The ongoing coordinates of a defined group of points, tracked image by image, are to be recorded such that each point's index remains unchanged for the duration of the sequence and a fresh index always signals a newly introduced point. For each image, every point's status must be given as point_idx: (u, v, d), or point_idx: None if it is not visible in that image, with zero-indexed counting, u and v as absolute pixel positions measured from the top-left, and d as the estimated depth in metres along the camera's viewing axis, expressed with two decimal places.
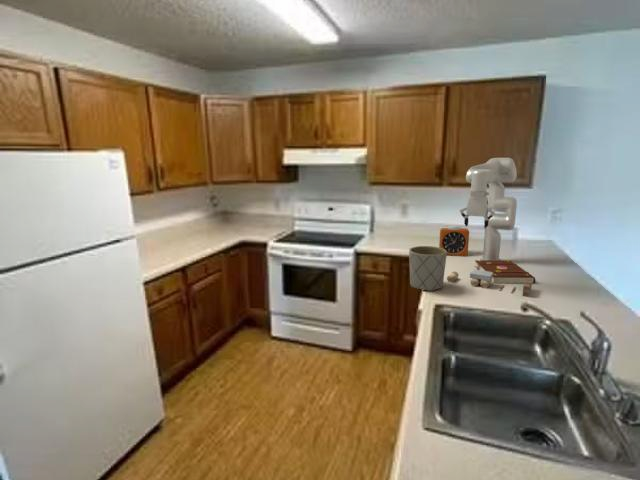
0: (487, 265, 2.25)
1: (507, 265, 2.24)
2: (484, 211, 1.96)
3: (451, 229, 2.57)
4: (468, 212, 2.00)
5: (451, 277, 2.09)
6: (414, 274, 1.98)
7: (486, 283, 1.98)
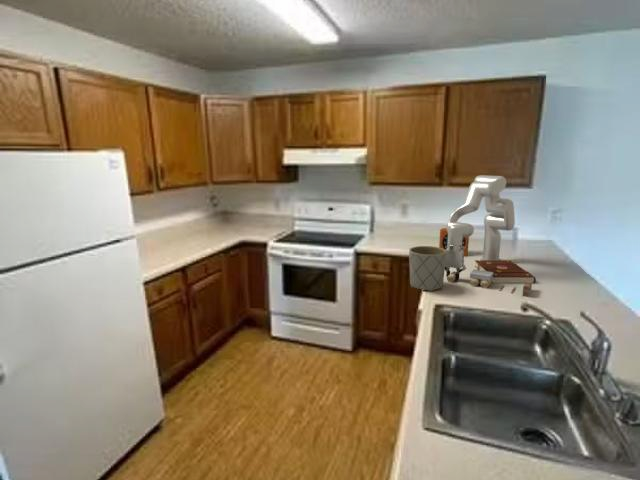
0: (487, 265, 2.25)
1: (507, 265, 2.24)
2: (460, 264, 2.06)
3: None
4: None
5: (451, 277, 2.09)
6: (414, 274, 1.98)
7: (486, 283, 1.98)
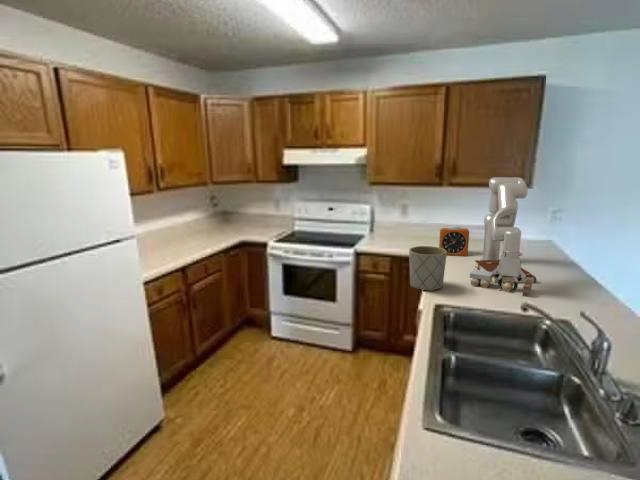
0: (487, 265, 2.25)
1: None
2: (517, 272, 1.90)
3: (451, 229, 2.57)
4: (500, 271, 1.95)
5: (507, 287, 1.92)
6: (414, 274, 1.98)
7: (486, 283, 1.98)
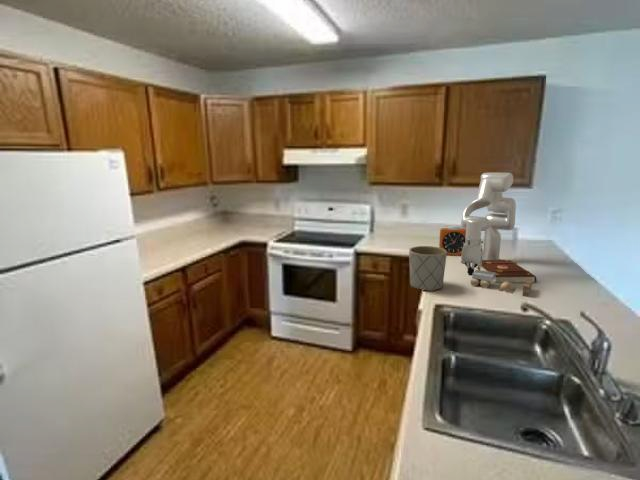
0: (487, 265, 2.26)
1: (507, 264, 2.25)
2: (478, 259, 2.00)
3: (451, 229, 2.57)
4: (463, 259, 2.05)
5: (504, 286, 1.93)
6: (414, 274, 1.98)
7: (486, 283, 1.98)
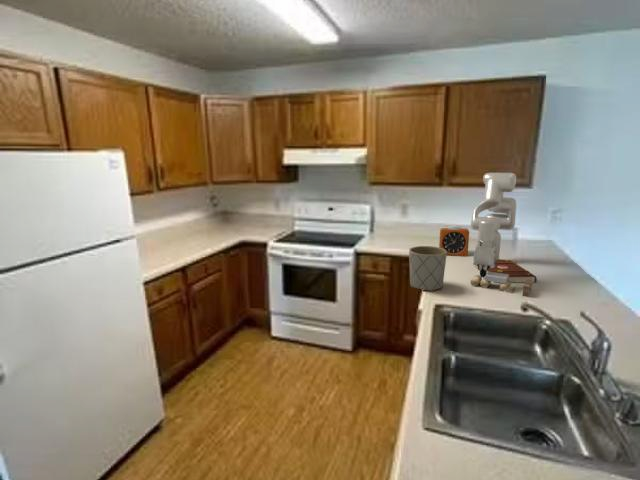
0: None
1: (507, 264, 2.25)
2: (491, 261, 1.96)
3: (451, 229, 2.57)
4: (475, 260, 2.01)
5: (504, 286, 1.93)
6: (414, 274, 1.98)
7: (486, 283, 1.98)
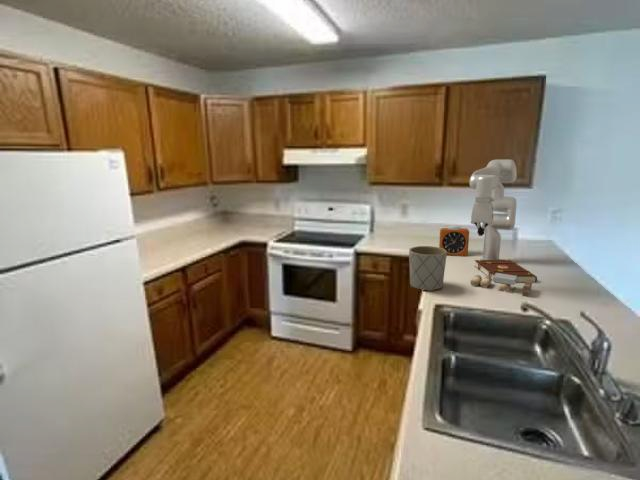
0: (488, 265, 2.26)
1: (507, 264, 2.26)
2: (489, 217, 1.93)
3: (451, 229, 2.57)
4: (473, 218, 1.98)
5: (504, 286, 1.93)
6: (414, 274, 1.98)
7: (486, 283, 1.98)
